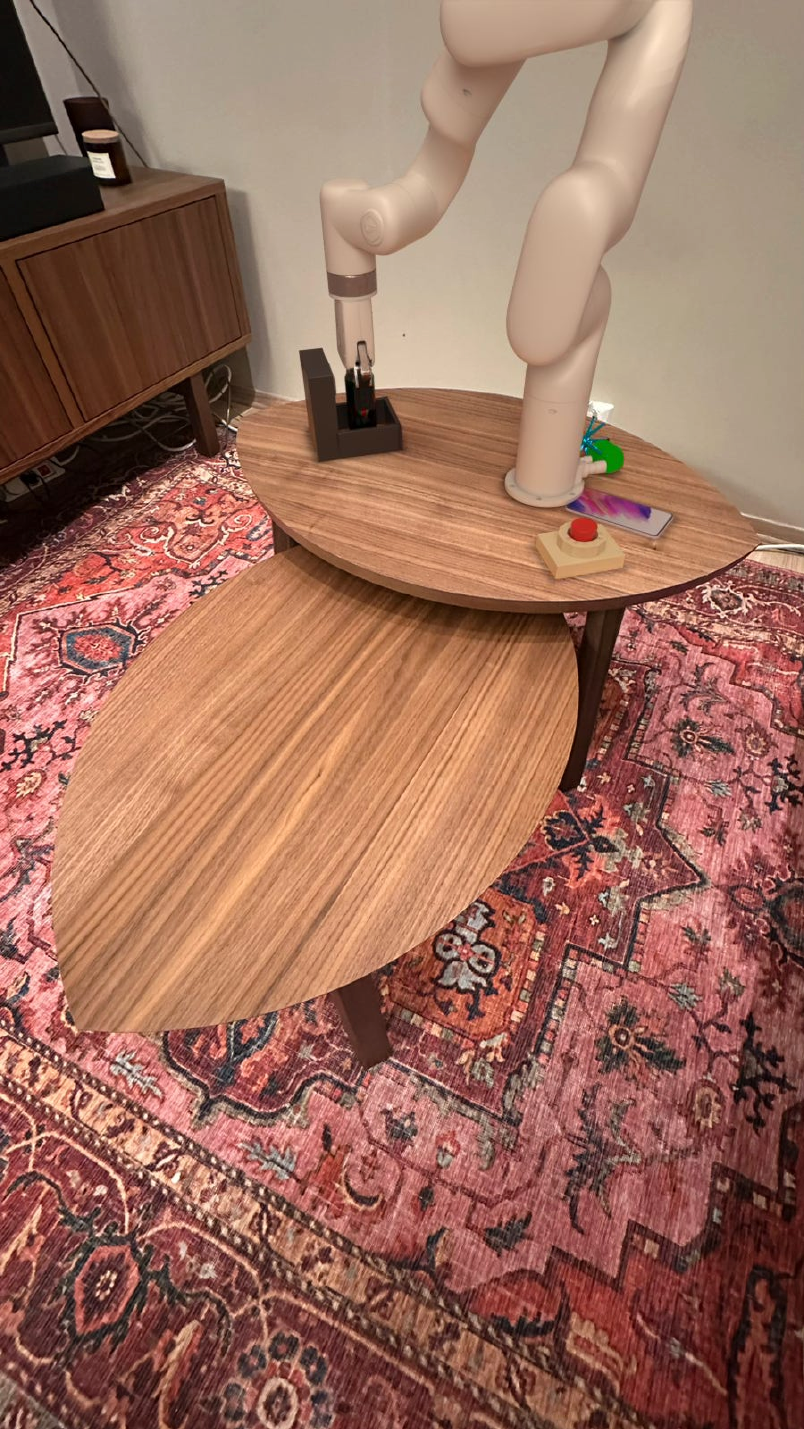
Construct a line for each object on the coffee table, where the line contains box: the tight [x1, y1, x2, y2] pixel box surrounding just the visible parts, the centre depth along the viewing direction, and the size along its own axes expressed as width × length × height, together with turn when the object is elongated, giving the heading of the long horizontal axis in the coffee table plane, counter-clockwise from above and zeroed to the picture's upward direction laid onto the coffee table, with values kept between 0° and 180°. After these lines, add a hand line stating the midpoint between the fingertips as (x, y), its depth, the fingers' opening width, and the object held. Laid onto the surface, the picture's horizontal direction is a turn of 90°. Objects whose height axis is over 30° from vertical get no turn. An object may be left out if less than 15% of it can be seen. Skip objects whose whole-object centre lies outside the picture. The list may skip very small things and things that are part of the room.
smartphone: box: [565, 487, 675, 540], centre depth 105 cm, size 7×1×15 cm
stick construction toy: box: [580, 414, 625, 474], centre depth 114 cm, size 12×7×8 cm
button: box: [569, 517, 598, 542], centre depth 94 cm, size 4×4×2 cm
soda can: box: [343, 365, 378, 430], centre depth 118 cm, size 5×5×12 cm
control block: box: [534, 520, 627, 580], centre depth 96 cm, size 10×8×4 cm
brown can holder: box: [298, 347, 403, 463], centre depth 117 cm, size 15×12×14 cm
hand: (360, 400), depth 117 cm, fingers open, 6 cm apart
